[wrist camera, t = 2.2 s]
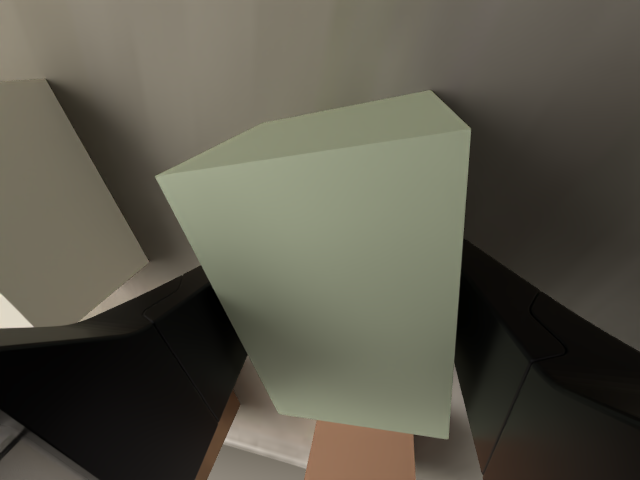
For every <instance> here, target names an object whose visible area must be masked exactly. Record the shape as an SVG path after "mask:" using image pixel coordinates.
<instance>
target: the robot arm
mask: <svg viewBox="0 0 640 480" xmlns="http://www.w3.org/2000/svg"><path fill="white" fill-rule="evenodd" d="M247 355H248V354H247V352H246V350H245V348H244V346H243V344H242V343H241V341H240V339H239V337H238V335H237V333H236V331H235V329H234V327H233V325H232V323H231V321H230V320H229V318H228V316H227V314H226V312H225V310H224V308H223V306H222V304H221V302H220V300H219V298H218V297H217V295H216V293H215V291H214V289H213V287H212V285H211V283H210V281H209V279H208V277H207V275H206V274H205V272H204V270H203V268H202V266H199V267H197V268H195V269H193V270H191V271H189V272H187V273H185V274H184V275H183V276H182V275H181V276H179V277H177V278H175V279H173V280H171V281H169V282H167V283H165V284H163V285H161V286H159V287H157V288H155V289H153V290H151V291H149V292H147V293H145V294H142V295H140V296H138V297H136V298H134V299H132V300H129V301H127V302H125V303H123V304H120V305H118V306H116V307H114V308H112V309H109V310H107V311H105V312H103V313H101V314H98V315H96V316H94V317H92V318H89V319H87V320H84V321H81V322H78V323H74V324H69V325H63V326H51V327H25V328H0V480H195V479H196V476H197V474H198V472H199V469H200V467H201V465H202V462H203V460H204V457H205V455H206V453H207V450H208V448H209V446H210V443H211V441H212V438H213V436H214V434H215V431H216V429H217V427H218V422H219V421H220V419H221V417H222V414H223V412H224V409H225V407H226V405H227V402H228V400H229V397H230V395H231V393H232V390H233V388H234V386H235V383H236V381H237V378H238V376H239V374H240V371H241V369H242V367H243V364H244V362H245V359H246V357H247ZM454 363H455V367H456V371H457V375H458V379H459V383H460V387H461V391H462V395H463V399H464V403H465V407H466V411H467V415H468V419H469V423H470V428H471V432H472V436H473V440H474V444H475V448H476V452H477V456H478V460H479V464H480V468H481V472H482V474H483V480H640V352H639V351H637V350H636V349H634V348H632V347H631V346H629V345H627V344H625V343H624V342H622V341H620V340H618V339H617V338H615V337H613V336H612V335H610V334H608V333H606V332H605V331H603V330H601V329H600V328H598V327H596V326H595V325H593V324H591V323H590V322H588V321H587V320H585V319H583V318H582V317H580V316H578V315H577V314H575V313H574V312H572V311H570V310H569V309H567V308H566V307H564V306H563V305H561V304H560V303H558V302H557V301H555V300H554V299H552V298H551V297H549V296H548V295H546V294H545V293H543V292H540V290H539V289H537V288H536V287H534V286H533V285H531V284H530V283H529V282H527V281H526V280H524V279H523V278H521V277H520V276H518V275H517V274H515V273H514V272H512V271H511V270H509V269H508V268H506V267H505V266H504V265H502V264H501V263H499V262H498V261H496V260H495V259H493V258H492V257H490V256H489V255H487V254H486V253H484V252H483V251H482V250H480V249H479V248H477V247H476V246H474V245H473V244H471V243H470V242H468V241H467V240H465V239H464V238H463V247H462V261H461V274H460V288H459V301H458V315H457V329H456V342H455V356H454Z"/></svg>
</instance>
